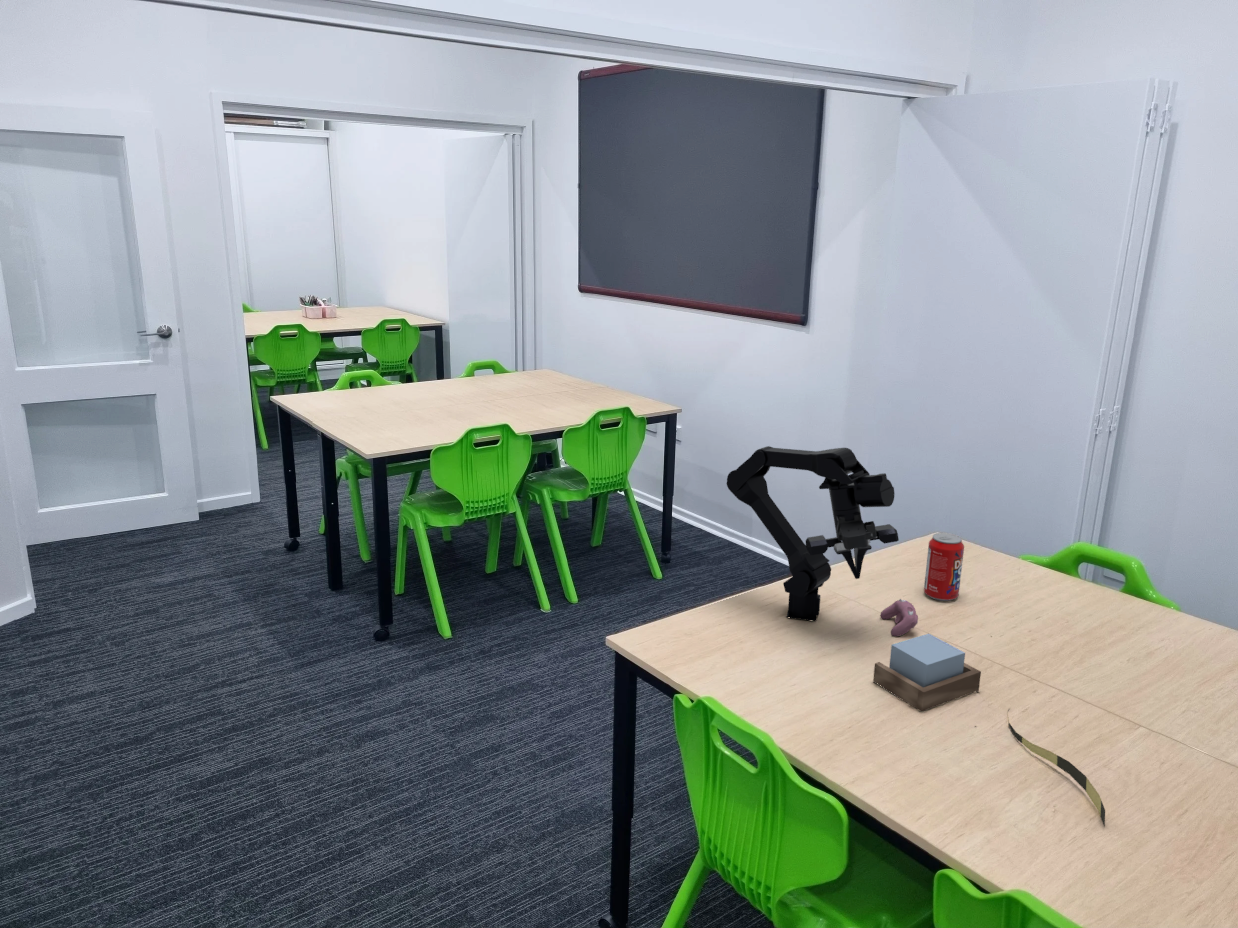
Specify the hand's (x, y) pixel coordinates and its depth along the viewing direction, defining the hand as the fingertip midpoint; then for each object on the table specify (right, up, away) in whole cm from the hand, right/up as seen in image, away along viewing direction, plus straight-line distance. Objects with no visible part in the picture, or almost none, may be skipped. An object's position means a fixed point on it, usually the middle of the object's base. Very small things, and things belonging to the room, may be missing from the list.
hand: (857, 578), depth 190 cm
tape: (+23, -25, -39) cm, 52 cm away
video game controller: (+11, -12, +6) cm, 17 cm away
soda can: (+26, -7, +21) cm, 34 cm away
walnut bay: (+8, -18, -18) cm, 27 cm away
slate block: (+8, -19, -18) cm, 27 cm away
